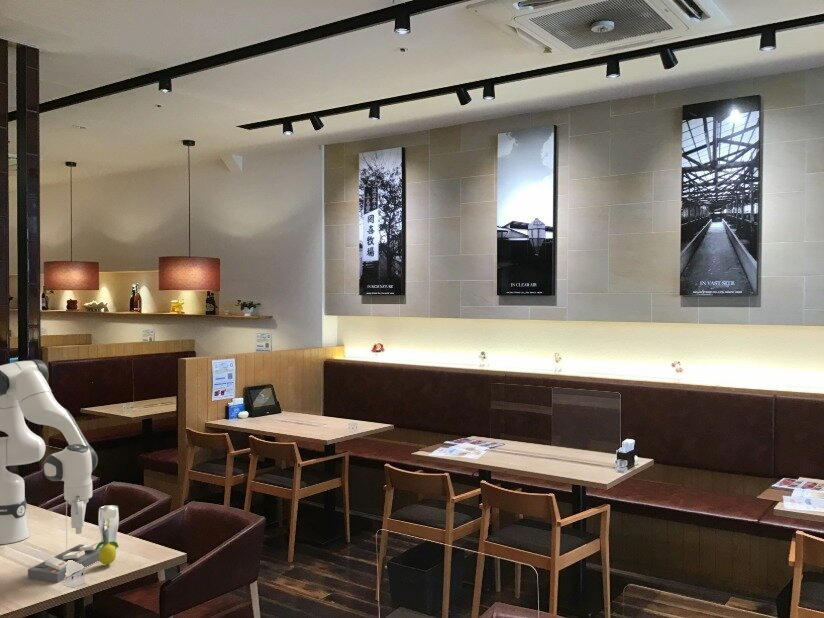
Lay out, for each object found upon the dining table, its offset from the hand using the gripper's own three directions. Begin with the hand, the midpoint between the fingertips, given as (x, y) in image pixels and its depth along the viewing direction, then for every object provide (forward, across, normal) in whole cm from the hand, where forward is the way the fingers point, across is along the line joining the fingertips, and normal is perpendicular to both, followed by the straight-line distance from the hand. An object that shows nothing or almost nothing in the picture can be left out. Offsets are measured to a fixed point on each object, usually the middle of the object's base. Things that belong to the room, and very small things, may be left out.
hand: (78, 532), depth 253 cm
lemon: (+13, -1, -9) cm, 16 cm away
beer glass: (+13, +17, -9) cm, 23 cm away
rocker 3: (+8, +8, -3) cm, 12 cm away
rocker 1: (+8, -5, +7) cm, 12 cm away
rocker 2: (+8, +2, +2) cm, 8 cm away
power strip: (+12, +3, +3) cm, 13 cm away
